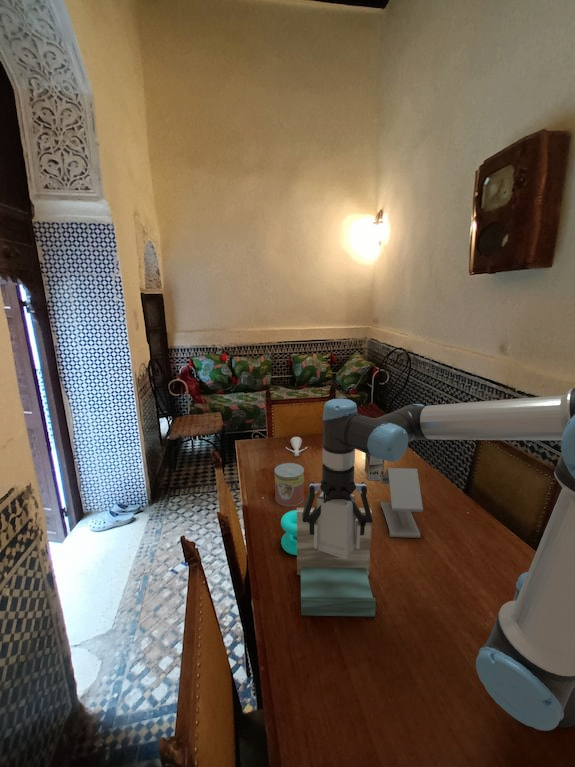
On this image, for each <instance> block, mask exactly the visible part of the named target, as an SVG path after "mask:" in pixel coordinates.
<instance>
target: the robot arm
mask: <svg viewBox="0 0 575 767" xmlns="http://www.w3.org/2000/svg"><path fill="white" fill-rule="evenodd" d="M357 407H358V406H357V403H356V402H355V401H353V400H351V399H348V398H332V399H330V400H328V401H326V402H325V403H324V405H323V414H322V429H323V430H322V468H321V470H322V471H321V475H322V476H321V481H320V483H315V482H313V481H310V482H309V483H308V486H309V487H308V488H309V492H308V495H307V498H306V502H305V504H304V507H303V508H304V510H303V513H302V521H303V522H308V523H309V531H310V535H314V548H317V529H318V525H317V519H318V517H319V516H320V514H321V505H320V507H319V508H318V509H317V504H316V505H315V507H313V504H314V501H315V497H316V494H318V492H319V490H321V492H323V496H324V502H323V503H326V502H327V501H330V500H331V499H345V500H346V501H352V499H351V498H350V495H351V494H352V495H353V493H354V492H355V490H357V493H358V494H359V495H360V498H361V501H362V505H363V508H364V510H365V514H366V515H362V513H361V512H360V510H359V508H360V507H359V506H358V504H357V503H356V502H355V503H354V502H353V501H352V503H353V512H354V514H355V516H356V517H357V519H356V522H355V545H356V549H359V547H360V535H364V529H365V526H366V523H368V522H369V523H373V522H374V521H373V515H372V516H371V512H370V508H371V507H370V505H369V501H368V496H367V495H368V494H367V493H368V487H367V484H366V483H365V482H364V481H361V482H360V483H355V463H356V461H355V459H356V450H357V451H360V452H361V453H364V454H365V453H366V454H369V455H371V456H373V457H375V458H377V459H382V460H384V461H386V462H389V463H395V462H397V461H400V460H401V459H402V456H404V455H405V453H406V451H407V448H408V444H409V443H411V442H412V441H422V440H423V441H427V440H429V441H430V440H433V441H435V440H438V441H444V440H446V441H450V440H451V441H453V440H454V441H458V440H459V441H477V440H478V441H561V444H560V447H561V448H560V450H561V452H560V456H559V458H558V461H557V463H556V466H555V468H554V472H553V474H554V477H555V479H556V481H557V482H558V483H559V485H560V486H561V488H562V489H560V490H561V491H560V493H559V495H558V497H557V500H556V503H555V505H554V507H553V510H552V513H551V515H550V518H549V520H548V522H547V525H546V527H545V529H544V532H543V535H542V537H541V539H540V542H539V544H538V547H537V549H536V552H535V553H534V557H533V559H532V562H531V564H530V566H529V568H528V571H526V572H523V573H521V574H520V575H519V576H518V579H517V580H516V583H515V593H514V596H513V600H510V601H507V602H505V603H504V604H503V605H502V606H501V608H500V609H499V611H498V614H497V616H496V619H495V621H494V624H493V626H492V629H491V632H490V634H489V636H488V638H487V640H486V641H485V644H484V645H483V647H480V648H479V650H478V655H477V656H476V658H475V669H476V673H477V676H478V677H479V681H480V682H481V683H482V685H483V686H484V689H485V690H486V691H487V693H488V695H490V697H491V698H492V699H493V700H494V701H495V703H496V704H497V705H498V706H500V708H501V709H502V710H504V711H505V712H506V713H507V714H509V715H510V716H511V717H512V718H513V719H515V720H517V721H518V722H520V723H522V724H524V725H525V726H527V727H531V728H534V729H536V730H537V731H544V732H546V731H552V730H555V729H556V728H572V727H574V726H575V387H574V388H570V389H568V391H566V393H565V394H562V395H561V394H560V395H551V396H536V397H525V398H523V397H522V398H521V397H520V398H513V399H511V398H510V399H499V400H497V399H495V400H486V401H485V400H484V401H483V400H482V401H471V402H459V403H458V402H457V403H446V404H432V405H424V404H421V403H413V404H409V405H405V406H404V407H402V408H399V409H396V410H394V411H392V412H389V413H387V414H384V415H382V416H379V417H376V418H373V417H370V416H367V415H362V414H361V413H358V408H357ZM325 495H326V498H325ZM311 508H314V510H313V511H312V513H311V515H310V511H311Z"/></svg>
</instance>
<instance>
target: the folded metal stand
mask: <svg viewBox="0 0 575 767" xmlns="http://www.w3.org/2000/svg"><path fill="white" fill-rule="evenodd" d="M419 479H420V478H419V473H418V469H417V468H408V467H407V468H405V467H404V468H401V467H400V468H399V467H398V468H397V467H387V469H386V471H385V472H384V474H383V477H382V480H380V481H381V485H389V492H390V501H391V502H386V501H385V502H384V501H383V502H380V503H379V506H380V508H382V512H383V514H384V517H385V521H386V523H387V527H388V530H389V531H388V536H389V537H390V538H409V539H410V538H411V539H413V538H414V539H415V538H416V539H420V538H421V531H420V529H419V527H418V525H417V523H416V521H415V518H414V516H413V514H412V512H414V513H418V512H419V513H422V512H423V511H424V507H423V499H422V493H421V487H420V481H419Z"/></svg>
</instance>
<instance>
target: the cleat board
mask: <svg viewBox="0 0 575 767" xmlns="http://www.w3.org/2000/svg"><path fill="white" fill-rule="evenodd" d="M314 508H315V507H312V508H311V511H310V515H311V513H312V511H313V510H314ZM358 508H359V510H360V512H361V513H362V515H366V514H365V510H364V507H358ZM369 508H370V512H371V516H372V517H373V512H372V508H371V507H369ZM296 510H297V555H296V575H297V576H298V575H299V576H300V616H318V617H320V616H325V617H326V616H329V617H333V616H334V617H338V616H339V617H376V605H377V604H376V603H377V599H376V597H373V593H372V589H371V588H372V587H371V585H370V580H369V576H370V562H371V561H370V560H371V543H372V542H371V541H372V540H371V539H372V523H373V522H372V523H369V522H368V523H366V526H365V529H364V535H360V547H359V549H356V545H355V547H354V549H353V551H352V553H351V554H350V556H349V558H348V560H346V559H343V558H340V557H337V556H335V555H332V554H329V553H326V552H323V551H320V550H318V530H317V548H314V535H310V531H309V523H308V522H303V521H302V513H303V510H304V507H296ZM356 519H357V517H356V516H355V522H356Z"/></svg>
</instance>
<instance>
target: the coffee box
mask: <svg viewBox="0 0 575 767" xmlns="http://www.w3.org/2000/svg"><path fill="white" fill-rule="evenodd" d="M364 454H365V455H364V457H365V459H364V472H365V475H366V477H367V479H368V481H381V480H382V477H383V476H384V474H385V472H384V471H385V460H382V459H377V458H375V457H373V456H371V455H369V454H366V453H364Z"/></svg>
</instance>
